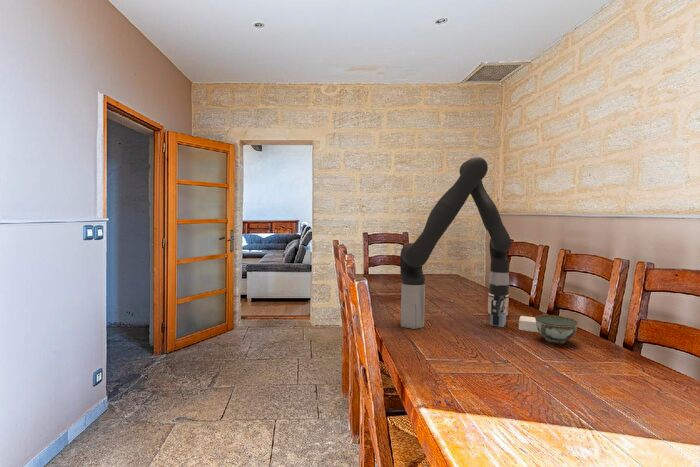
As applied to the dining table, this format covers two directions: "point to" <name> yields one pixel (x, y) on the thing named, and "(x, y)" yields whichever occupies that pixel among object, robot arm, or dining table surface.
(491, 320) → the cube
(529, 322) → the slab
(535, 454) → the dining table surface
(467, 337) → the dining table surface
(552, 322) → the bowl
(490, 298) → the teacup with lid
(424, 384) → the dining table surface
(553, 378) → the dining table surface
